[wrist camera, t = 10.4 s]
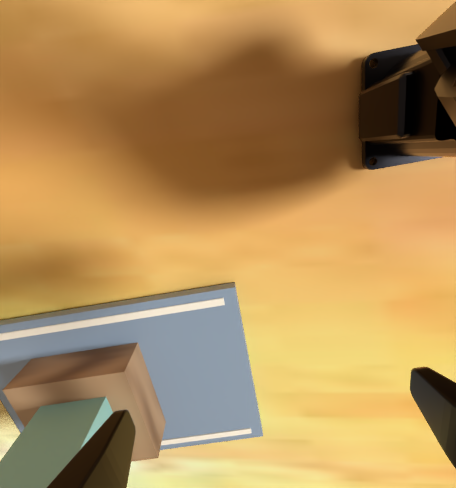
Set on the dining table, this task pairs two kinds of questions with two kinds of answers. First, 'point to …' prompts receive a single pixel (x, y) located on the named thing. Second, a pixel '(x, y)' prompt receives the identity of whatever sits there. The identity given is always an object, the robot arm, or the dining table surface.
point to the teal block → (51, 442)
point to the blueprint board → (157, 357)
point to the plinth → (94, 389)
